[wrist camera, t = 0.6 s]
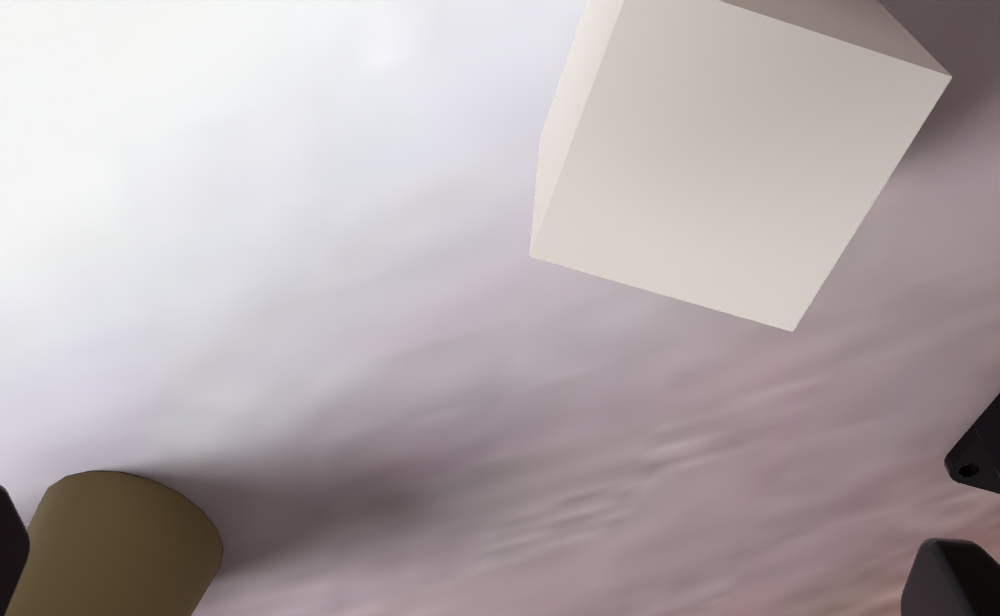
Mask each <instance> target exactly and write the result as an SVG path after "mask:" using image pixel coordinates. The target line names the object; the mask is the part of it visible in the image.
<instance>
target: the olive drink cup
mask: <svg viewBox="0 0 1000 616" xmlns="http://www.w3.org/2000/svg"><path fill="white" fill-rule="evenodd" d="M27 532H28V534H29V538H30V552H29V557H28V560H27V563H26V565H25V568H24V570H23V573H22V575H21V578H20V580H19V583H18V585H17V587H16V590H15V592H14V595H13V597H12V600H11V602H10V604H9V607H8V609H7V612H6V614H5V616H191V615H192V613H193V611H194V610H195V608H196V606H197V605H198V603H199V601H200V599H201V598H202V596H203V594H204V593H205V591H206V589H207V588H208V586H209V584H210V583H211V581H212V579H213V578H214V576H215V574H216V573H217V571H218V569H219V567H220V565H221V559H222V553H223V547H222V544H221V541H220V538H219V535H218V531H217V529H216V528H215V527H214V525H213V524H212V523H211V522H210V520H209V519H208V518H207V516H206V515H205V514H204V513H203V511H202V510H200V509H199V508H198V507H197V506H195V505H194V504H193V503H191V502H190V501H189V500H187V499H186V498H185V497H183V496H182V495H181V494H179V493H178V492H175V491H173V490H171V489H169V488H167V487H165V486H163V485H161V484H158V483H156V482H154V481H152V480H149V479H145V478H141V477H137V476H133V475H129V474H125V473H121V472H103V471H88V472H84V473H79V474H75V475H70V476H66V477H64V478H63V479H61V480H60V481H58V482H57V483H55V484H53V485H52V486H50V487H49V488H48V489H47V491H46V493H45V495H44V496H43V498H42V500H41V502H40V504H39V506H38V508H37V510H36V512H35V514H34V516H33V518H32V521H31V523H30V525H29V527H28V529H27Z"/></svg>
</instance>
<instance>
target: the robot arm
mask: <svg viewBox="0 0 1000 616" xmlns="http://www.w3.org/2000/svg"><path fill="white" fill-rule="evenodd" d="M966 464H969V465H966ZM944 465H945V467H946V469H947V471H948V473H949V475H950V477H951V478H952V479H953V480H954V481H956V482H958V483H962V484H966V485H969V486H973V487H977V488H980V489H984V490H988V491H991V492H995V493H999V494H1000V394H999V395H998V396H997V397H996V398H995V400H994V401H993V402H992V403H991V404H990V405H989V407H988V408H987V409H986V410H985V411H984V412H983V414H982V415H981V416H980V417H979V418H978V419H977V421H976V422H975V423H974V424H973V425H972V426H971V428H970V429H969V430H968V431H967V432H966V433H965V435H964V436H963V437H962V438H961V439H960V440H959V442H958V443H957V444H956V445H955V446H954V447H953V449H952V450H951V451H950V452H949V453H948V454H947V456H946V458H945V460H944ZM964 465H966V466H964ZM29 552H30V538H29V534H28V532H27V530H26V528H25V526H24V524H23V522H22V520H21V518H20V516H19V514H18V512H17V510H16V508H15V506H14V504H13V502H12V500H11V498H10V496H9V494H8V492H7V491H6V489H5V488H4V487H3V486H1V485H0V616H5V614H6V612H7V609H8V607H9V604H10V602H11V600H12V597H13V595H14V592H15V590H16V587H17V585H18V583H19V580H20V578H21V575H22V573H23V570H24V568H25V565H26V563H27V560H28V557H29ZM901 616H1000V565H999V564H998V563H997V562H996V561H995V560H994V559H993V558H992V557H991V556H990V555H989V554H988V553H987V552H986V551H985V550H984V549H982V548H981V547H980V546H979V545H977V544H975V543H974V542H971V541H968V540H960V539H943V538H929V539H927V540H925V541H924V542H923V543H922V544H921V546H920V548H919V550H918V553H917V555H916V558H915V561H914V563H913V566H912V568H911V571H910V574H909V576H908V579H907V582H906V584H905V587H904V590H903V593H902V598H901Z"/></svg>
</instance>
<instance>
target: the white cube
mask: <svg viewBox="0 0 1000 616" xmlns="http://www.w3.org/2000/svg"><path fill="white" fill-rule="evenodd" d="M951 79H952V76H951V75H950V74H949V73H948V72H947V71H946V70H945V69H944V68H943V67H942V65H941V64H940V63H939V62H938V61H937V60H936V59H935V58H934V57H933V56H932V55H931V54H930V53H929V52H928V51H927V50H926V49H925V48H924V47H923V46H922V45H921V44H920V43H919V42H918V41H917V40H916V39H915V38H914V37H913V36H912V35H911V34H910V33H909V32H908V31H907V30H906V29H905V28H904V27H903V26H902V25H901V24H900V23H899V22H898V21H897V20H896V19H895V18H894V17H893V16H892V15H891V14H890V13H889V12H888V11H887V10H886V9H885V8H884V7H883V6H882V5H881V4H880V3H879V2H878V1H877V0H587V3H586V6H585V9H584V12H583V15H582V17H581V20H580V23H579V26H578V29H577V32H576V35H575V38H574V41H573V44H572V47H571V50H570V52H569V55H568V58H567V61H566V64H565V67H564V70H563V73H562V76H561V79H560V82H559V84H558V87H557V90H556V93H555V96H554V99H553V102H552V105H551V108H550V111H549V114H548V117H547V119H546V122H545V125H544V128H543V131H542V134H541V137H540V142H539V153H538V165H537V176H536V188H535V199H534V211H533V222H532V234H531V245H530V257H533V258H536V259H540V260H543V261H547V262H550V263H554V264H557V265H561V266H564V267H568V268H571V269H575V270H578V271H582V272H585V273H589V274H592V275H596V276H599V277H603V278H606V279H610V280H613V281H617V282H620V283H624V284H627V285H631V286H634V287H638V288H641V289H645V290H648V291H652V292H655V293H658V294H662V295H665V296H669V297H672V298H676V299H679V300H683V301H686V302H690V303H693V304H697V305H700V306H704V307H707V308H711V309H714V310H718V311H721V312H725V313H728V314H732V315H735V316H739V317H742V318H746V319H749V320H753V321H756V322H760V323H763V324H767V325H770V326H774V327H777V328H781V329H784V330H788V331H791V332H793V331H794V329H795V327H796V326H797V324H798V323H799V321H800V320H801V318H802V316H803V315H804V313H805V312H806V310H807V308H808V307H809V305H810V304H811V302H812V300H813V299H814V297H815V296H816V294H817V292H818V291H819V289H820V288H821V286H822V284H823V283H824V281H825V280H826V278H827V276H828V275H829V273H830V272H831V270H832V268H833V267H834V265H835V264H836V262H837V260H838V259H839V257H840V256H841V254H842V253H843V251H844V249H845V248H846V246H847V245H848V243H849V241H850V240H851V238H852V237H853V235H854V233H855V232H856V230H857V229H858V227H859V225H860V224H861V222H862V221H863V219H864V217H865V216H866V214H867V213H868V211H869V209H870V208H871V206H872V205H873V203H874V201H875V200H876V198H877V197H878V195H879V193H880V192H881V190H882V189H883V187H884V186H885V184H886V182H887V181H888V179H889V178H890V176H891V174H892V173H893V171H894V170H895V168H896V166H897V165H898V163H899V162H900V160H901V158H902V157H903V155H904V154H905V152H906V150H907V149H908V147H909V146H910V144H911V142H912V141H913V139H914V138H915V136H916V134H917V133H918V131H919V130H920V128H921V126H922V125H923V123H924V122H925V120H926V119H927V117H928V115H929V114H930V112H931V111H932V109H933V107H934V106H935V104H936V103H937V101H938V99H939V98H940V96H941V95H942V93H943V91H944V90H945V88H946V87H947V85H948V83H949V82H950V80H951Z"/></svg>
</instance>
